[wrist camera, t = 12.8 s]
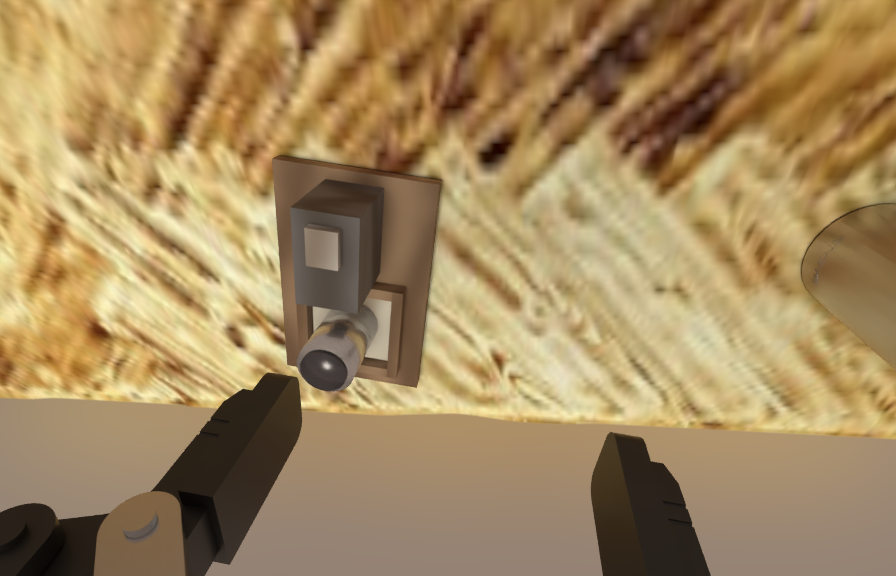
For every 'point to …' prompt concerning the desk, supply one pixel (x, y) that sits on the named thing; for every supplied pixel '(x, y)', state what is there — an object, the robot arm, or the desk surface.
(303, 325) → the dock
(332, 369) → the lens
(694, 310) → the desk surface
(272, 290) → the desk surface
